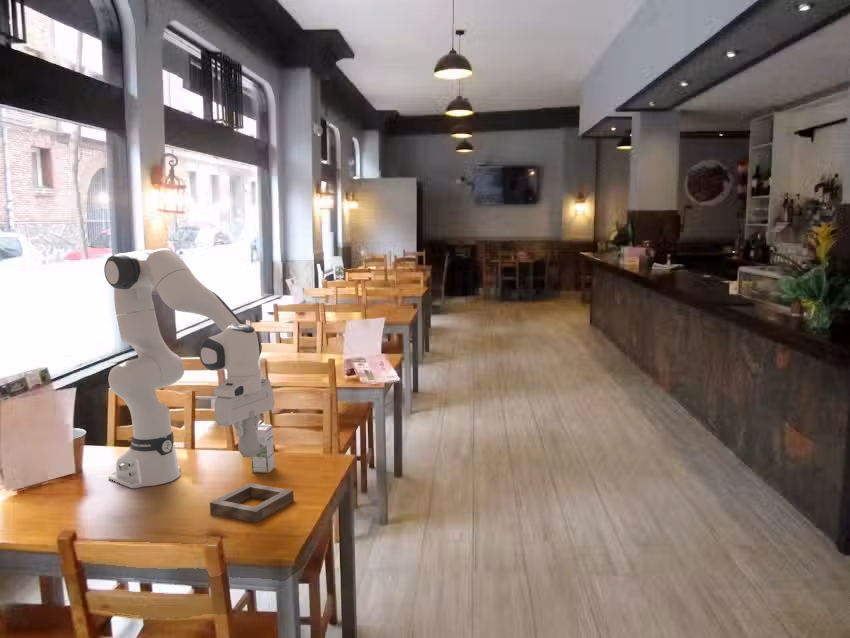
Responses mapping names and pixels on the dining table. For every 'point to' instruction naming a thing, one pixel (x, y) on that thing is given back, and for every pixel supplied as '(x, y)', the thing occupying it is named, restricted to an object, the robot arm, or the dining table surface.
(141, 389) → the robot arm
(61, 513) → the dining table surface
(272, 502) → the walnut socket
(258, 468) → the syrup box
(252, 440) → the salt shaker
